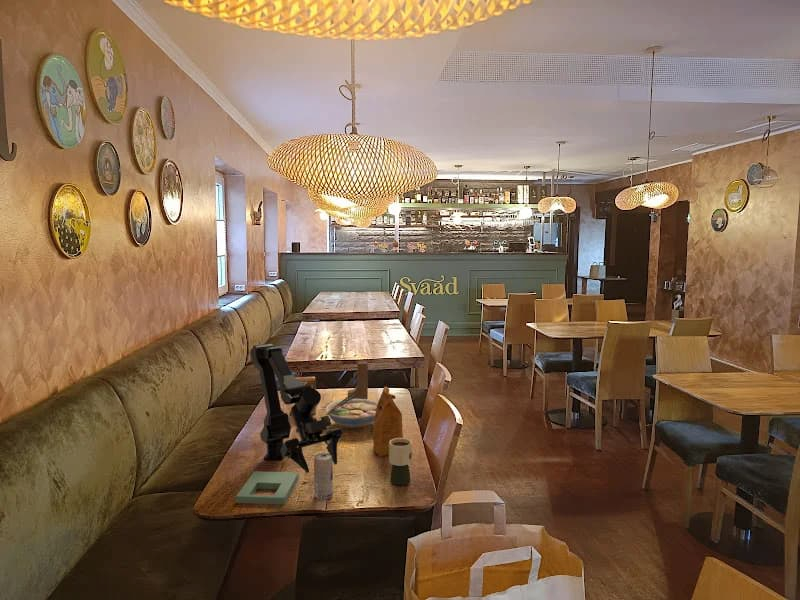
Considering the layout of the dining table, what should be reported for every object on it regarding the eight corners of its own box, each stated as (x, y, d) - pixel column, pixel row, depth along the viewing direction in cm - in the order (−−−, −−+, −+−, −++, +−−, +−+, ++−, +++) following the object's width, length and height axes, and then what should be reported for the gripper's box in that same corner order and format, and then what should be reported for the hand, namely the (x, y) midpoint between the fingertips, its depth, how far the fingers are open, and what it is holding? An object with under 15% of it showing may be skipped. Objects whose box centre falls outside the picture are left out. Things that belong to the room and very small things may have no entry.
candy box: (316, 410, 232) (315, 376, 230) (316, 414, 227) (315, 378, 225) (294, 411, 230) (294, 376, 228) (294, 415, 226) (293, 379, 224)
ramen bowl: (368, 440, 199) (368, 419, 198) (313, 432, 207) (313, 412, 206) (392, 418, 222) (392, 399, 221) (342, 412, 230) (342, 393, 229)
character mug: (415, 489, 162) (415, 448, 160) (391, 491, 161) (391, 450, 159) (408, 473, 173) (408, 434, 171) (386, 475, 172) (386, 436, 170)
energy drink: (333, 491, 161) (333, 452, 159) (331, 500, 156) (331, 460, 154) (315, 491, 161) (315, 452, 159) (313, 500, 155) (312, 460, 154)
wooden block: (347, 403, 242) (347, 364, 239) (347, 399, 246) (347, 361, 244) (367, 402, 243) (367, 363, 240) (367, 399, 247) (367, 361, 245)
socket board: (254, 477, 169) (254, 471, 169) (298, 478, 169) (298, 472, 168) (236, 502, 154) (236, 496, 153) (284, 504, 153) (284, 498, 153)
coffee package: (398, 442, 198) (398, 384, 195) (404, 456, 186) (405, 394, 183) (371, 444, 196) (371, 385, 193) (376, 458, 184) (376, 396, 181)
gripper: (283, 414, 154) (301, 464, 147) (340, 402, 165) (359, 448, 158) (273, 432, 161) (289, 481, 154) (328, 419, 172) (346, 464, 165)
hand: (322, 468), depth 157 cm, fingers open, 9 cm apart
